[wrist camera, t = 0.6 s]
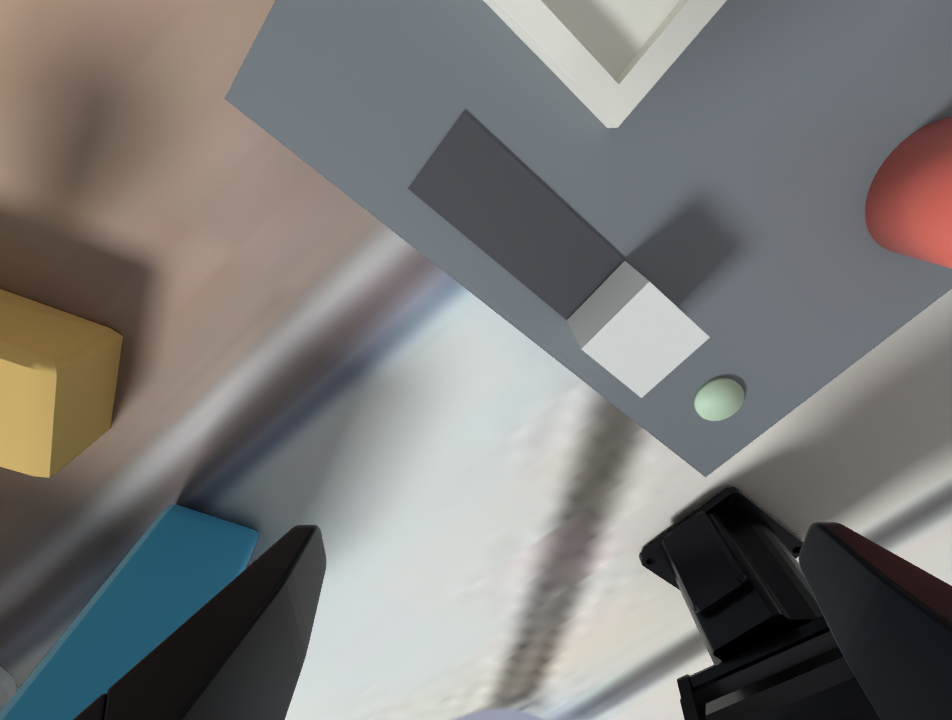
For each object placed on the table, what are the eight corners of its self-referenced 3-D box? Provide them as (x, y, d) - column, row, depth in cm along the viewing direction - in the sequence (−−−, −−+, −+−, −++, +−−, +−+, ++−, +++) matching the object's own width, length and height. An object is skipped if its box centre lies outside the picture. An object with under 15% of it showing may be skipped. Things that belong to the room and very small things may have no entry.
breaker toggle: (678, 310, 18) (709, 337, 15) (619, 364, 19) (641, 398, 16) (624, 260, 17) (649, 281, 15) (566, 320, 18) (581, 349, 16)
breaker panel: (1054, 168, 17) (1149, 174, 15) (691, 456, 23) (717, 495, 21) (606, -572, 10) (648, -784, 8) (245, 101, 16) (205, 96, 14)
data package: (214, 648, 29) (64, 952, 18) (138, 628, 28) (-66, 935, 17) (266, 518, 24) (107, 822, 14) (178, 488, 24) (-68, 790, 13)
